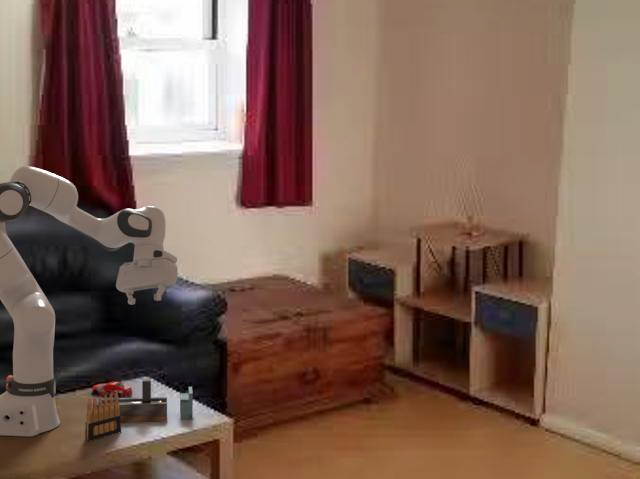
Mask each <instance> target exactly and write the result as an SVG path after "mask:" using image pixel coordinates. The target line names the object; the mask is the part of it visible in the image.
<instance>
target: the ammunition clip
mask: <svg viewBox="0 0 640 479" xmlns="http://www.w3.org/2000/svg"><path fill="white" fill-rule="evenodd" d="M108 397H109V407H108V399H107V398H108ZM113 398H115V400H114V405H113ZM96 399H97V398H96V397H93V400H92V401H91V398H89V399H88V401H87V405H86V422H85V431H84V435H85V436H84V439H85V440H86V441H88V442H90V441H89V440H92V441H95V440H99V439H102V438H105V436H106V437H109V435H110V436H113V435H116V434H120V433H122V427H121V426H122V423H121V417H120V407H119V398H118V393H117V392H116V394H115V397H113V396H112V394H110V396H106V395H104V398H102V395H99V397H98V399H99V401H98V410H97V401H96ZM102 399H104V405H103V406H102ZM92 409H93V410H92ZM119 432H120V433H119ZM112 434H113V435H112ZM98 438H99V439H98ZM94 439H95V440H94Z"/></svg>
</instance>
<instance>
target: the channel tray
mask: <svg viewBox="0 0 640 479" xmlns="http://www.w3.org/2000/svg"><path fill="white" fill-rule="evenodd" d="M107 399H108V402H109V398H108V397H107ZM114 400H115V397H113V402H114ZM96 401H97V410H98V401H99V398H96ZM151 401H162V402H158V403H120V404H119V407H120V417H121V424H150V423H153V424H154V423H168V402H167V401H168V396H160V397H159V396H158V397H156V396H154V397H153V396H151ZM119 402H142V397H123V398H119ZM103 405H104V398H102V406H103ZM113 405H114V404H113ZM108 407H109V404H108ZM92 410H93V408H92Z"/></svg>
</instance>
